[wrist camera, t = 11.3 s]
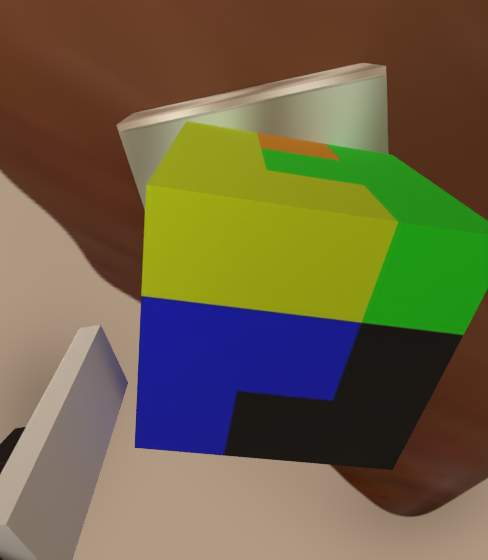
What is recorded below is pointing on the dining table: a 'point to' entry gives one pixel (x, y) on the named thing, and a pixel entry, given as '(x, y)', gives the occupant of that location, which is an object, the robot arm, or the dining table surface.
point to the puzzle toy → (297, 298)
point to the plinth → (272, 115)
